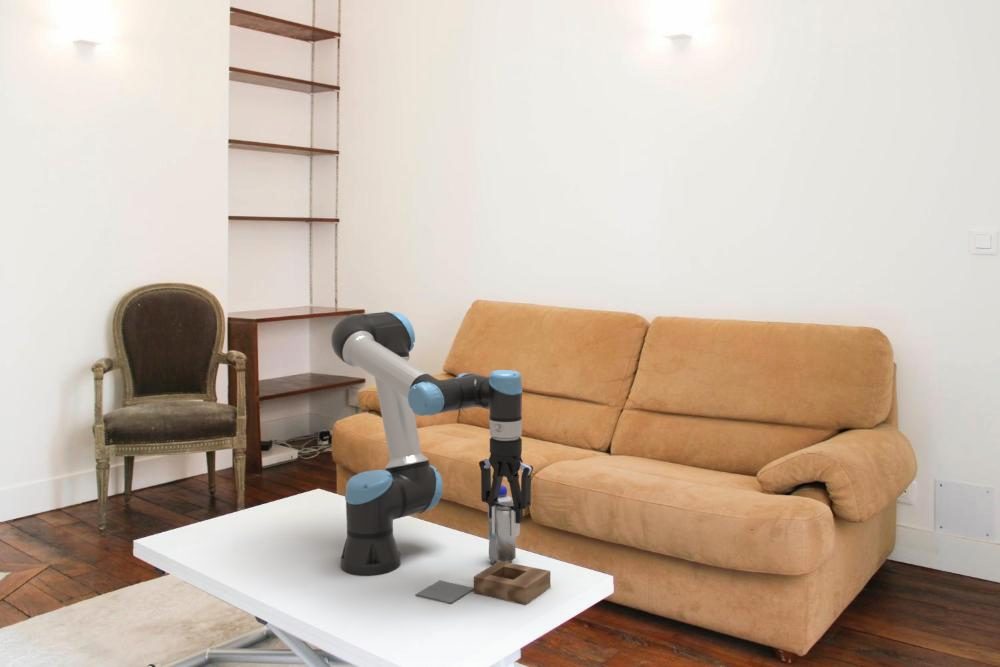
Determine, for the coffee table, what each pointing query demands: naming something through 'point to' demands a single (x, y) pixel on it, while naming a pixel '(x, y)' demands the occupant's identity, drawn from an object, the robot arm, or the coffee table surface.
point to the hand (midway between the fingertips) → (505, 533)
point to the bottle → (492, 537)
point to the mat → (445, 592)
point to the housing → (512, 582)
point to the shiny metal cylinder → (504, 532)
